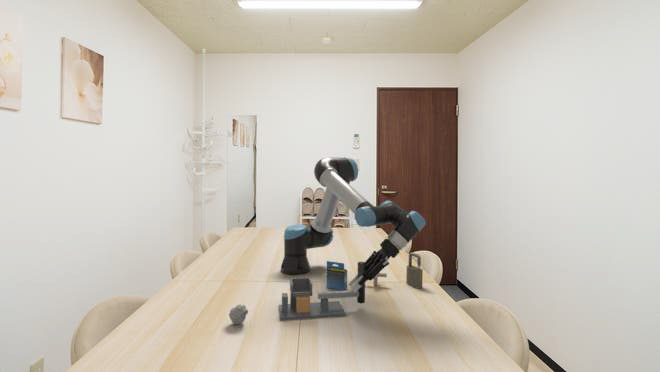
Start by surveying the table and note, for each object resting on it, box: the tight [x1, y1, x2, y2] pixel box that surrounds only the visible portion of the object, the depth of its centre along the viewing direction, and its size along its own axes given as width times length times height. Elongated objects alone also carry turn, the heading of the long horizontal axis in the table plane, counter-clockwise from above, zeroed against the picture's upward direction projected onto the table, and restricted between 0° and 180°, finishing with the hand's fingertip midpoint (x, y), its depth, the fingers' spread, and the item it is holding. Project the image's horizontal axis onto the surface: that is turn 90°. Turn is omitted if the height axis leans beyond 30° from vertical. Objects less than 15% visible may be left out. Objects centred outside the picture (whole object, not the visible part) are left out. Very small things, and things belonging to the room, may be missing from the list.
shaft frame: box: [278, 276, 347, 321], centre depth 135 cm, size 24×12×12 cm, turn 100°
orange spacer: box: [296, 296, 311, 313], centre depth 135 cm, size 5×5×5 cm
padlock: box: [405, 252, 424, 289], centre depth 165 cm, size 4×8×15 cm, turn 28°
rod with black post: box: [316, 261, 366, 304], centre depth 137 cm, size 18×3×16 cm, turn 100°
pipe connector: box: [372, 272, 388, 287], centre depth 165 cm, size 10×10×10 cm
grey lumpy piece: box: [228, 304, 249, 326], centre depth 124 cm, size 6×7×7 cm
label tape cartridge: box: [326, 260, 348, 291], centre depth 161 cm, size 9×4×12 cm, turn 65°
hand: (351, 288), depth 138 cm, fingers closed on rod with black post, 3 cm apart
